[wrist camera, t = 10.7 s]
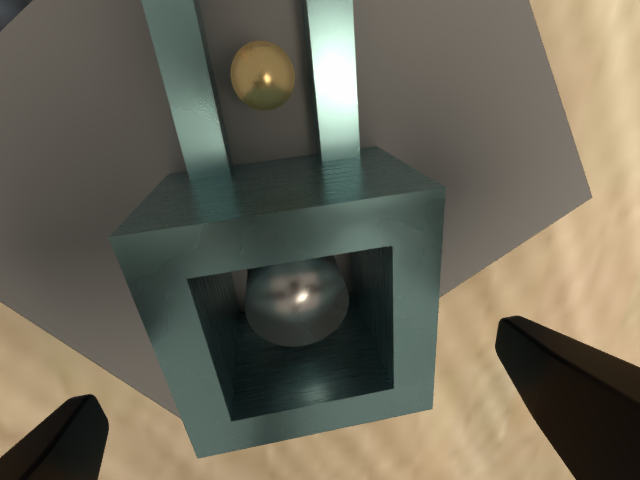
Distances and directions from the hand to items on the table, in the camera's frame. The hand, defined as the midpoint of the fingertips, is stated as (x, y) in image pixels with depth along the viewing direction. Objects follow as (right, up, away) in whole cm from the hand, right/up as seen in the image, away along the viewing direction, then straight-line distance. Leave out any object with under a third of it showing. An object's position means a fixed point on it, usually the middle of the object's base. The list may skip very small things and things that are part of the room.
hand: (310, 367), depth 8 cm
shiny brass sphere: (-2, +8, +3) cm, 8 cm away
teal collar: (-1, +5, +4) cm, 6 cm away
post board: (-1, +5, +6) cm, 8 cm away
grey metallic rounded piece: (-1, +2, +5) cm, 6 cm away
